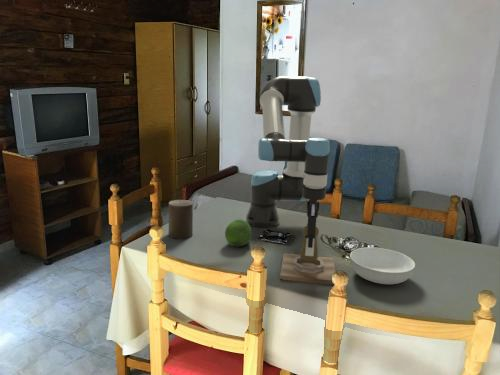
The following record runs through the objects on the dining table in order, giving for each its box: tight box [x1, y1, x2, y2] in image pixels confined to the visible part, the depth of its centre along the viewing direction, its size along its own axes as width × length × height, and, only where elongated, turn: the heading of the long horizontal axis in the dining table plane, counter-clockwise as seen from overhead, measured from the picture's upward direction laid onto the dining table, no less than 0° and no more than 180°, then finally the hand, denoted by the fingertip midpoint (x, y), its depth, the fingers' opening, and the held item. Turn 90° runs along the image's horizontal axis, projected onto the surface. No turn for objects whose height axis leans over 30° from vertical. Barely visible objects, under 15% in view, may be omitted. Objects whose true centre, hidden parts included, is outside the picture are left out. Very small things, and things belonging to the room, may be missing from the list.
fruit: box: [224, 219, 253, 248], centre depth 164 cm, size 15×10×10 cm, turn 161°
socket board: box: [279, 252, 336, 286], centre depth 144 cm, size 18×18×3 cm
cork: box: [299, 225, 320, 261], centre depth 142 cm, size 6×6×11 cm
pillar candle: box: [168, 199, 194, 240], centre depth 170 cm, size 10×10×15 cm
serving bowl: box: [349, 246, 416, 285], centre depth 140 cm, size 21×21×7 cm
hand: (309, 252), depth 143 cm, fingers closed on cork, 5 cm apart
